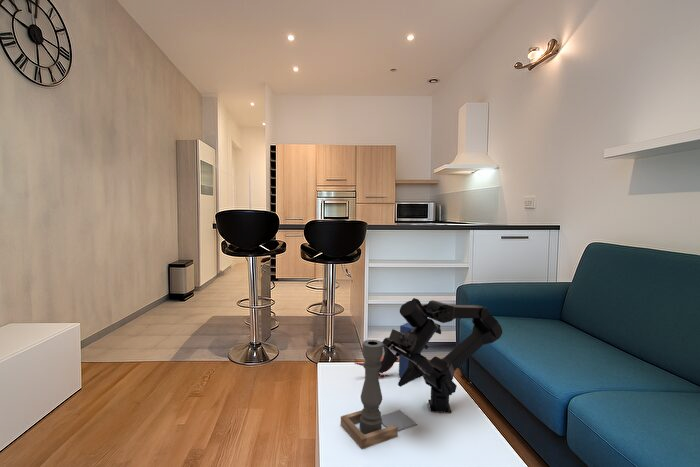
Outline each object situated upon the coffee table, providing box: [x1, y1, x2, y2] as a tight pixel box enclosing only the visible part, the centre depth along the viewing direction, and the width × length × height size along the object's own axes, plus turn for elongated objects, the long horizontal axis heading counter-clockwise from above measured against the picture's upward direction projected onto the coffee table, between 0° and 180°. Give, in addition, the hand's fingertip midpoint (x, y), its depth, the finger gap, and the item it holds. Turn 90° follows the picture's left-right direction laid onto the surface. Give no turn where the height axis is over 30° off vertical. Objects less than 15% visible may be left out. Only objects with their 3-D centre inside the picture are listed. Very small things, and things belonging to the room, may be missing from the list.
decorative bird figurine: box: [354, 355, 398, 377], centre depth 134 cm, size 3×18×10 cm, turn 103°
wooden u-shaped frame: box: [340, 409, 399, 449], centre depth 101 cm, size 12×12×2 cm
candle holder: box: [359, 339, 384, 435], centre depth 101 cm, size 6×6×25 cm
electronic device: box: [398, 322, 422, 379], centre depth 136 cm, size 10×5×20 cm, turn 141°
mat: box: [381, 409, 418, 432], centre depth 106 cm, size 9×8×1 cm
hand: (389, 378), depth 104 cm, fingers open, 9 cm apart
